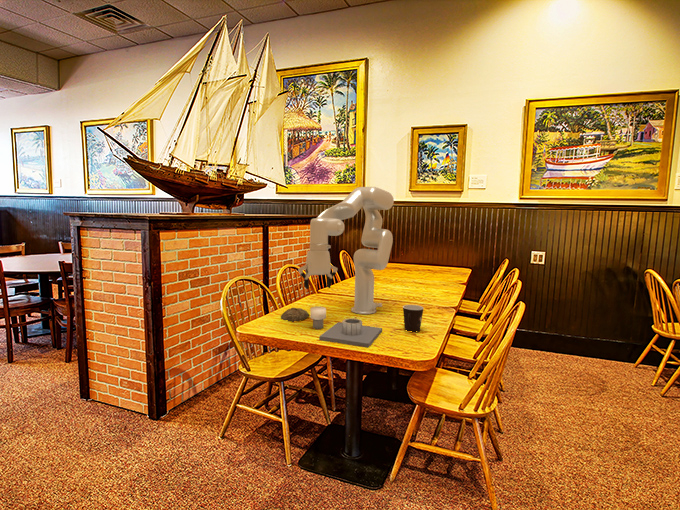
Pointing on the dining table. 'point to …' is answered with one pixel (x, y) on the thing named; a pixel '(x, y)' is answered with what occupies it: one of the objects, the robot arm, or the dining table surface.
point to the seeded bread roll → (294, 314)
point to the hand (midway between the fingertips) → (317, 287)
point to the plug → (318, 316)
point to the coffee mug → (412, 317)
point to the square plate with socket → (351, 333)
